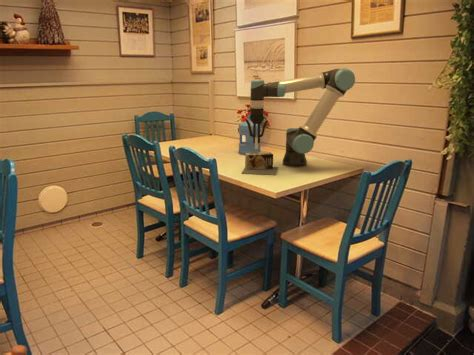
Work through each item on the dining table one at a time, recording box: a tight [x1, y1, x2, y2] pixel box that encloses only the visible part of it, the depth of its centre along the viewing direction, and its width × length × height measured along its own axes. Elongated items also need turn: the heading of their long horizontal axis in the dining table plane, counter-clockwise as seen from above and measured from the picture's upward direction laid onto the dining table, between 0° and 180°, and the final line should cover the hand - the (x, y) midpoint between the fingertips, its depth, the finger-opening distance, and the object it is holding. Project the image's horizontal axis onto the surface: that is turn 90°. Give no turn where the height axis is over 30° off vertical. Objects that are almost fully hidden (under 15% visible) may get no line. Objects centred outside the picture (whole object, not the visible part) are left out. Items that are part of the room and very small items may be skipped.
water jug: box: [238, 113, 262, 156], centre depth 271 cm, size 16×16×28 cm
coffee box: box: [244, 152, 274, 170], centre depth 230 cm, size 9×6×16 cm
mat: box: [241, 166, 279, 176], centre depth 227 cm, size 20×18×1 cm
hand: (256, 148), depth 224 cm, fingers closed
